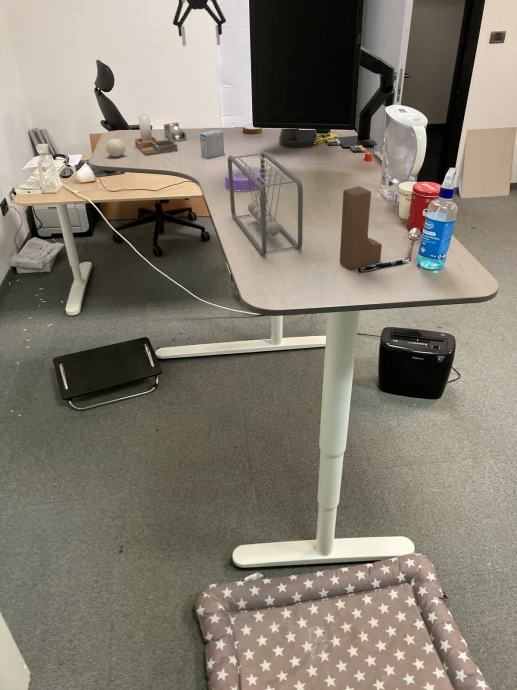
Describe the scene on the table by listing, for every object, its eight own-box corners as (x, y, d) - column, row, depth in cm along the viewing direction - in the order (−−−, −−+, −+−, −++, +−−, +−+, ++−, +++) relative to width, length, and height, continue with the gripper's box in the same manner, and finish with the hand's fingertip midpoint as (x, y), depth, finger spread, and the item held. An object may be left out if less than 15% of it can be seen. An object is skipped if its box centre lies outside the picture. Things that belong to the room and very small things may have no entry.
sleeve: (154, 144, 222) (150, 116, 216) (143, 146, 221) (139, 117, 214) (151, 142, 226) (147, 114, 220) (140, 143, 224) (136, 115, 218)
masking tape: (255, 178, 185) (254, 167, 183) (265, 189, 176) (265, 177, 173) (221, 183, 182) (220, 171, 180) (231, 194, 173) (230, 182, 171)
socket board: (177, 150, 216) (176, 144, 215) (145, 155, 212) (144, 148, 211) (166, 141, 229) (165, 134, 228) (135, 145, 225) (134, 139, 224)
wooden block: (369, 254, 133) (375, 181, 123) (380, 261, 130) (388, 187, 119) (338, 263, 129) (342, 189, 119) (350, 270, 126) (355, 195, 116)
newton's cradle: (231, 216, 157) (226, 153, 147) (265, 211, 159) (263, 149, 149) (263, 258, 133) (260, 187, 123) (302, 251, 136) (303, 181, 126)
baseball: (123, 159, 210) (120, 141, 206) (105, 159, 211) (102, 141, 207) (129, 154, 215) (126, 136, 211) (111, 154, 216) (108, 136, 212)
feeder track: (186, 140, 229) (185, 126, 226) (172, 142, 227) (170, 128, 224) (179, 134, 238) (177, 121, 235) (165, 136, 236) (163, 123, 233)
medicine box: (218, 152, 212) (216, 129, 207) (224, 155, 209) (223, 131, 204) (201, 156, 208) (199, 133, 203) (207, 159, 205) (205, 135, 200)
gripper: (230, -22, 202) (234, 43, 214) (165, -19, 204) (172, 45, 216) (227, -22, 195) (231, 45, 207) (160, -19, 198) (167, 47, 210)
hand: (201, 45), depth 212 cm, fingers open, 13 cm apart
